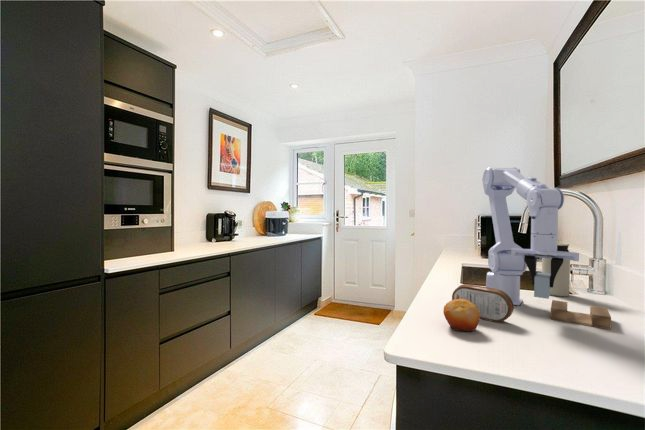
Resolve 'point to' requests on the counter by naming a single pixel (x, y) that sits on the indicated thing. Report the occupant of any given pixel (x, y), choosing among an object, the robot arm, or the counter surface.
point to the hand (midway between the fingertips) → (542, 285)
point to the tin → (486, 301)
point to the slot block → (581, 315)
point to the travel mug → (559, 273)
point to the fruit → (461, 315)
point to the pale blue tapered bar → (542, 285)
